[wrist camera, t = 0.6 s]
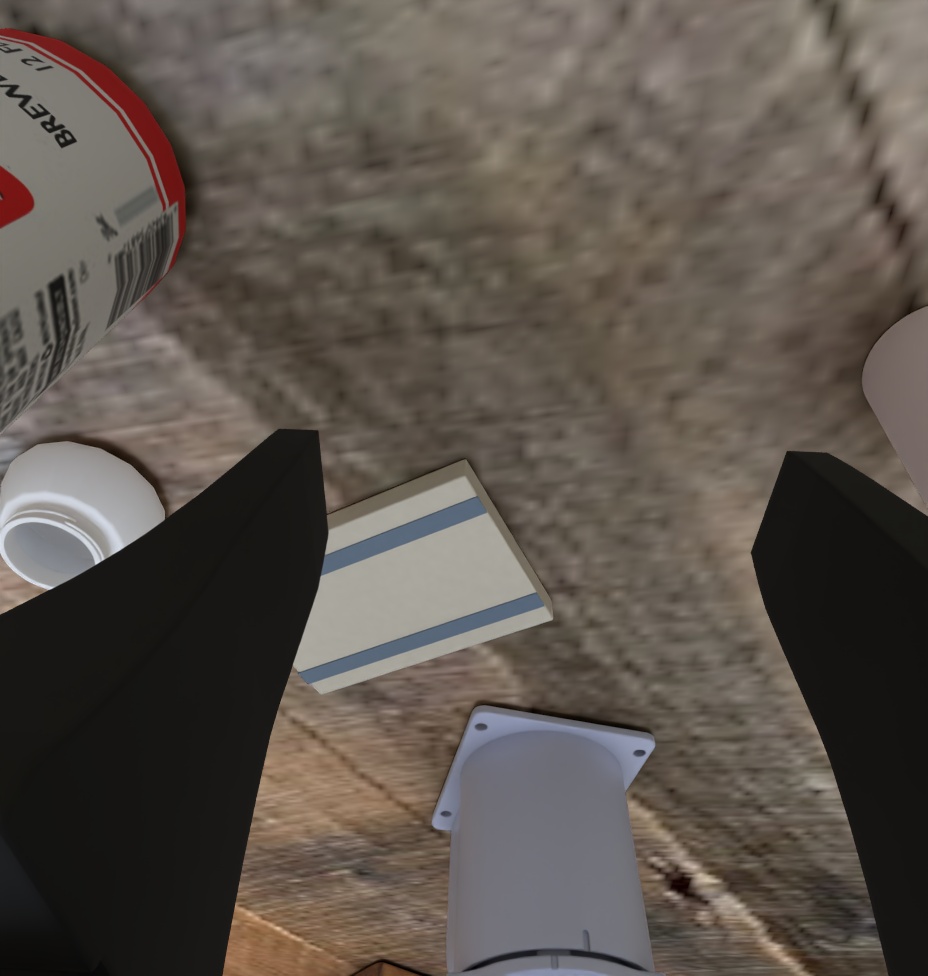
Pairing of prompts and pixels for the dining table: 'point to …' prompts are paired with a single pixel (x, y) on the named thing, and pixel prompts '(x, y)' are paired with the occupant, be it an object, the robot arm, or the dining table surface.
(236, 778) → the robot arm
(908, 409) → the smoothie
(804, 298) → the dining table surface
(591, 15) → the dining table surface
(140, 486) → the lidless jar
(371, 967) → the wooden box
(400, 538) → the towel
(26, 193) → the beer can
